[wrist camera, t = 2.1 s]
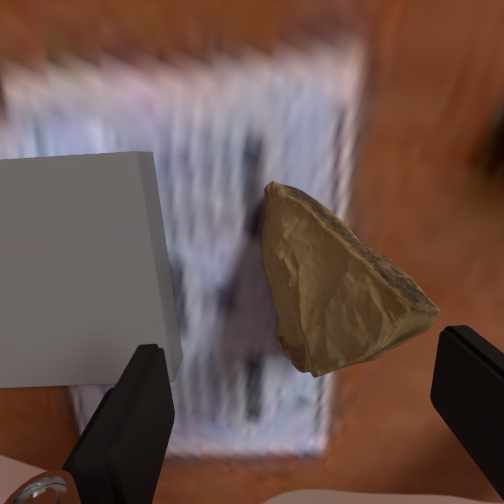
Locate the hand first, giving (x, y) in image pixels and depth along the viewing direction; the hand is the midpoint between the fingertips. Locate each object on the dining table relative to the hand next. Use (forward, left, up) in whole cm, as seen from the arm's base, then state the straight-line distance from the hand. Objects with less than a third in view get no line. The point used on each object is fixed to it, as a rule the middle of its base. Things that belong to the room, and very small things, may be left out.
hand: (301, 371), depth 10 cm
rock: (-1, 0, -10) cm, 10 cm away
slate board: (+15, -1, -10) cm, 18 cm away
